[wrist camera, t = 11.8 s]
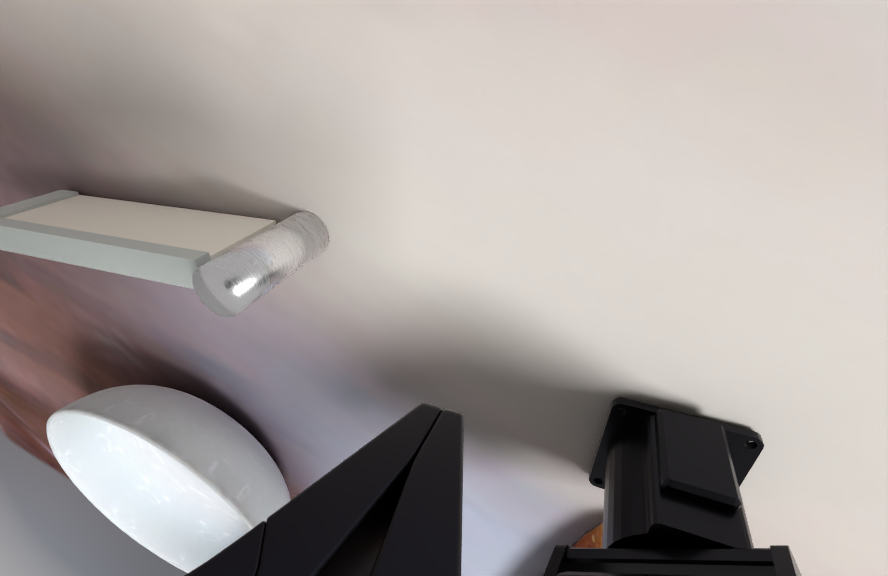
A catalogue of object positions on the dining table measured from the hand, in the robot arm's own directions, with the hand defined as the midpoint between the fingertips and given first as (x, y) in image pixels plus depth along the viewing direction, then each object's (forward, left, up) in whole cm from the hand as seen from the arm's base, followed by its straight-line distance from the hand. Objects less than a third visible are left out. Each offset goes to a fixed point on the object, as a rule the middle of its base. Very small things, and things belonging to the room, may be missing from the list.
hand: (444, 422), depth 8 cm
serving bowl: (-26, +25, -12) cm, 38 cm away
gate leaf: (-3, +22, -12) cm, 25 cm away
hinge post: (-3, +12, -12) cm, 17 cm away
